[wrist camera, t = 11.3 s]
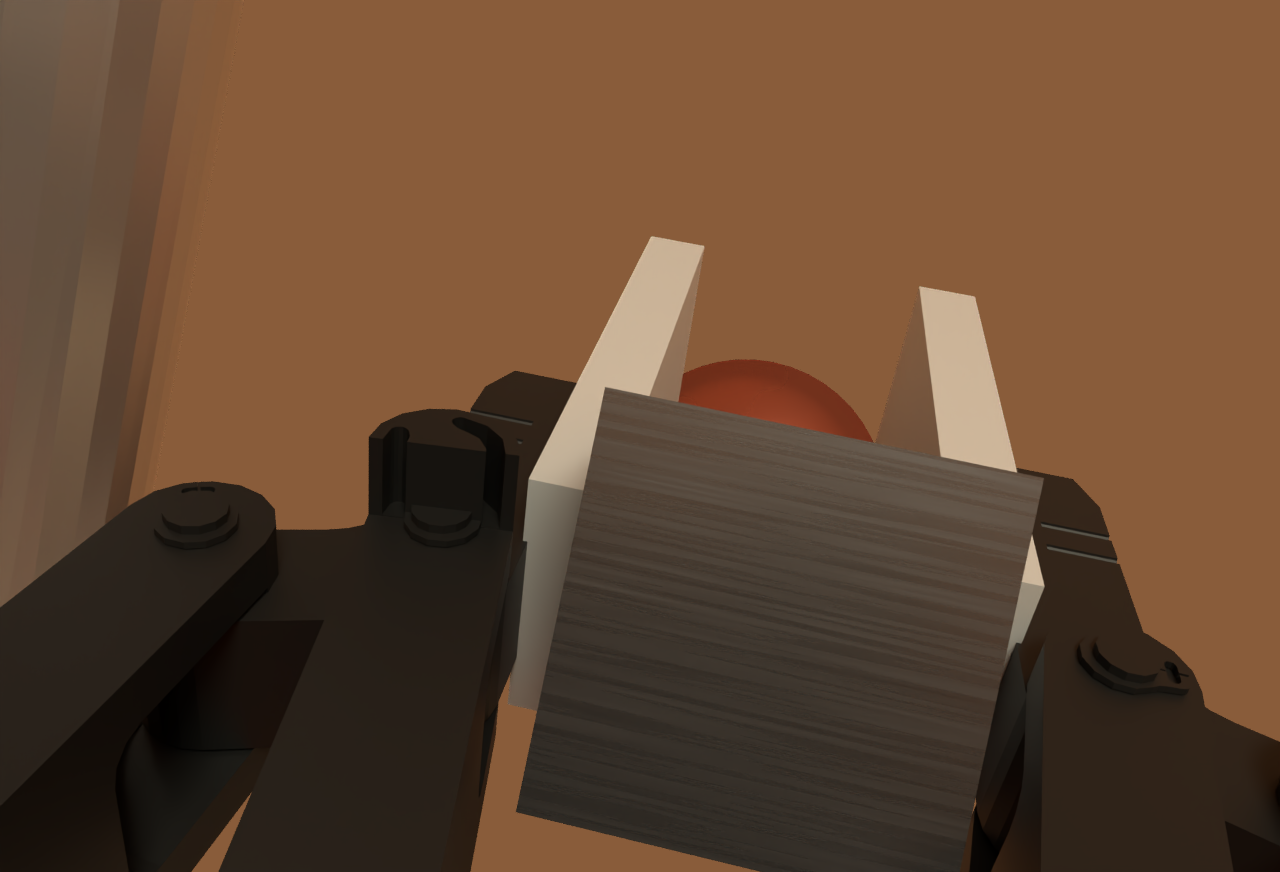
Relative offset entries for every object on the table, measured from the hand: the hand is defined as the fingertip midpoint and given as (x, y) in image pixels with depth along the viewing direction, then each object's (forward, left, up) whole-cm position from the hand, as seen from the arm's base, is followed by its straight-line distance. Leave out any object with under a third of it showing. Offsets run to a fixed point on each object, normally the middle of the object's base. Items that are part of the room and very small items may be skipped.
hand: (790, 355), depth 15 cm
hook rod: (0, +3, -6) cm, 7 cm away
